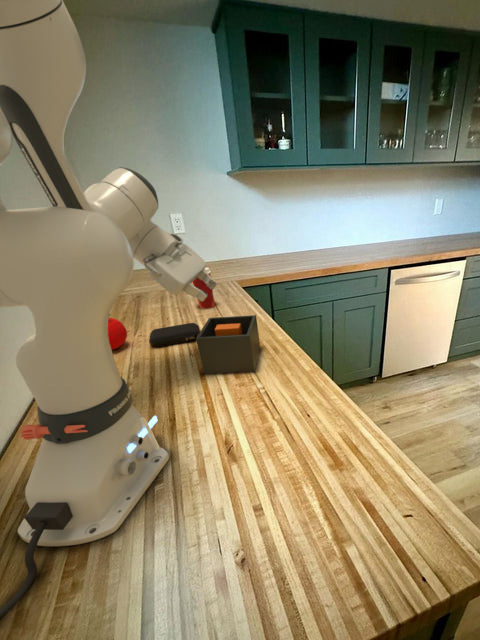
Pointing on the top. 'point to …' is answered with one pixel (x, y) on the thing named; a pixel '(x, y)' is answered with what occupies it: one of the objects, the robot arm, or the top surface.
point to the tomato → (116, 333)
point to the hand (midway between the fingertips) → (210, 292)
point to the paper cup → (202, 286)
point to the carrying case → (174, 334)
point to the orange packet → (228, 329)
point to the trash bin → (229, 346)
